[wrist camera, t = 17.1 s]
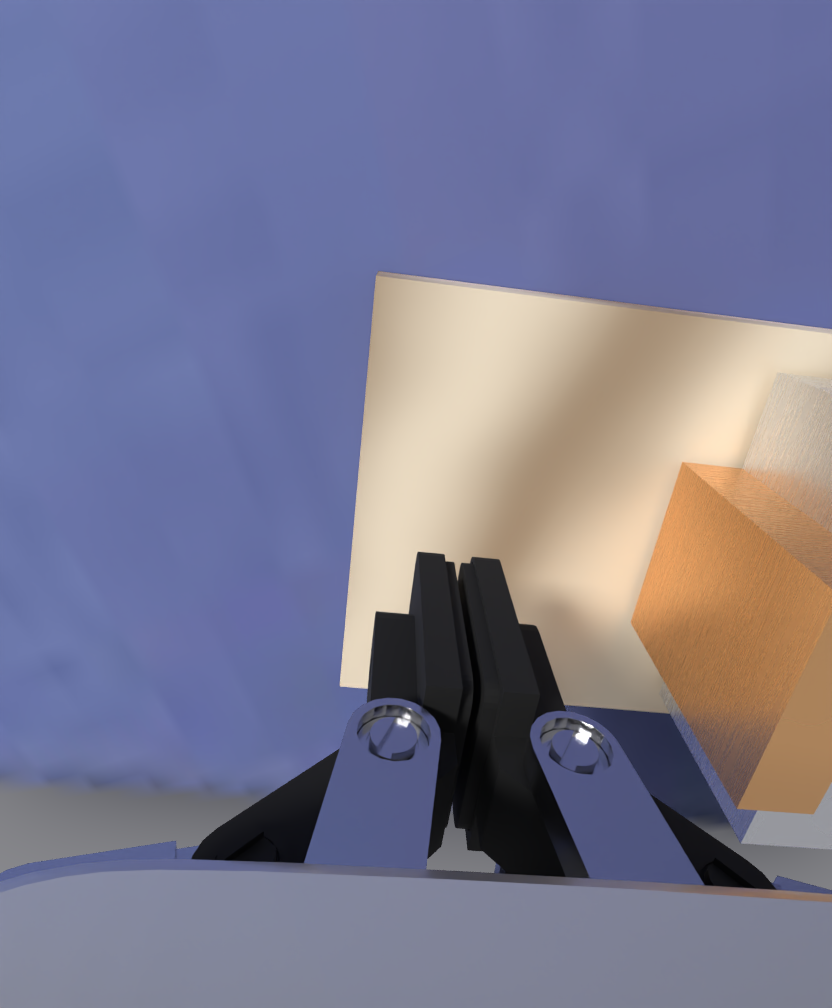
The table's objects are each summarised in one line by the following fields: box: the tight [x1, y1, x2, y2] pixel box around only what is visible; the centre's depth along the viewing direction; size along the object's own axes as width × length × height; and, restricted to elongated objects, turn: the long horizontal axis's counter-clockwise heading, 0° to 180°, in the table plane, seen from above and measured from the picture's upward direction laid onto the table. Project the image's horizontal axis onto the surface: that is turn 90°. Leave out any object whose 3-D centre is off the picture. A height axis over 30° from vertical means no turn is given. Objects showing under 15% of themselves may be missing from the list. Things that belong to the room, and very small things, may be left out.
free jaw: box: [631, 372, 832, 850], centre depth 14 cm, size 4×10×6 cm, turn 173°
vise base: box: [340, 271, 832, 714], centre depth 18 cm, size 25×12×2 cm, turn 83°
